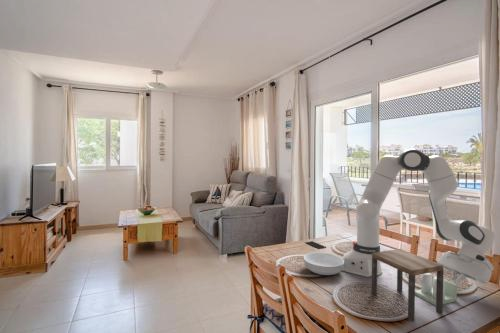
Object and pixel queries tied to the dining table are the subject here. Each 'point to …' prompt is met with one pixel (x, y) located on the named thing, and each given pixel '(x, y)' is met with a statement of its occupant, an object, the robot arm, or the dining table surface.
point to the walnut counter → (412, 267)
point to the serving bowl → (323, 263)
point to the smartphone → (315, 245)
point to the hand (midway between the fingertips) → (454, 281)
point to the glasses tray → (447, 295)
